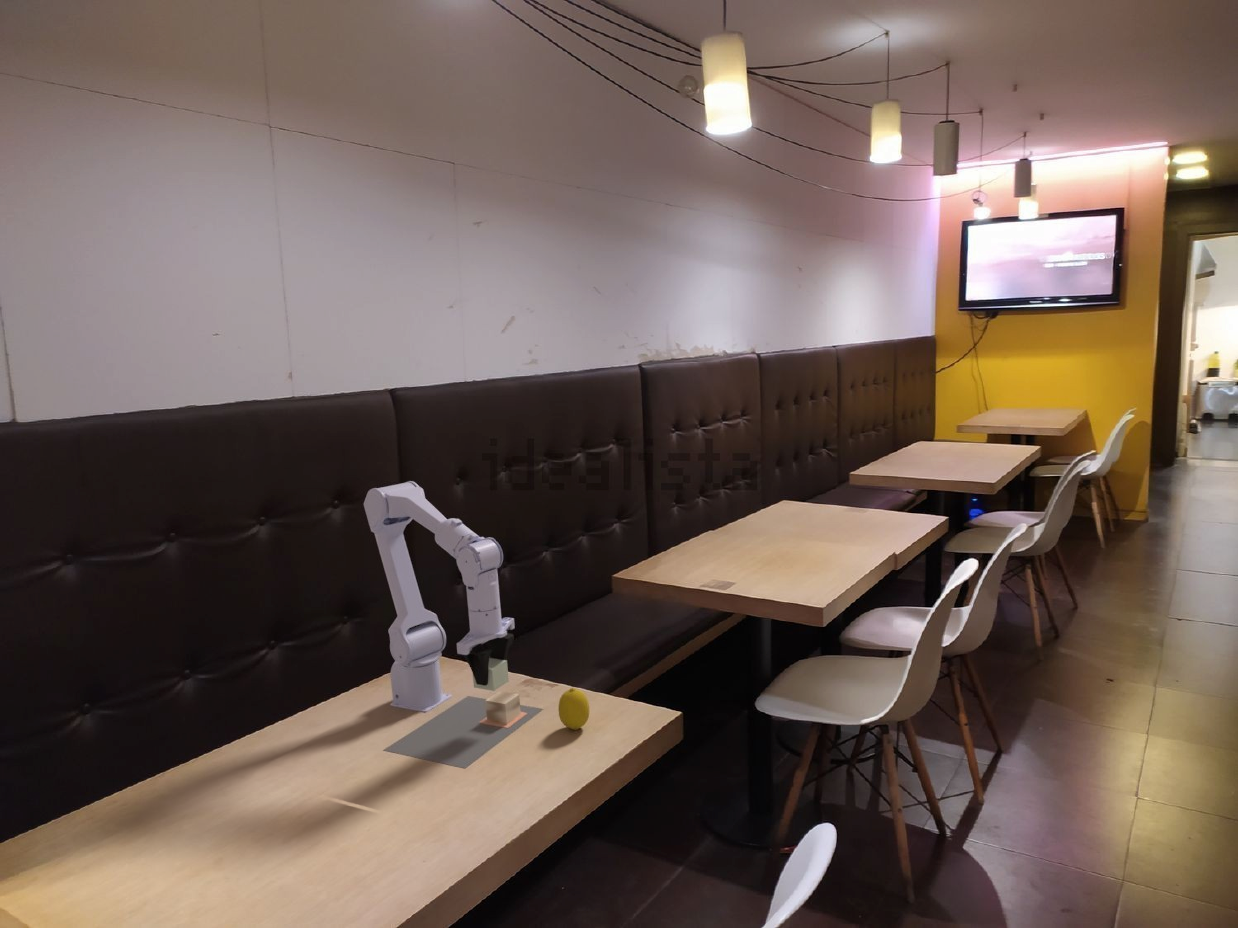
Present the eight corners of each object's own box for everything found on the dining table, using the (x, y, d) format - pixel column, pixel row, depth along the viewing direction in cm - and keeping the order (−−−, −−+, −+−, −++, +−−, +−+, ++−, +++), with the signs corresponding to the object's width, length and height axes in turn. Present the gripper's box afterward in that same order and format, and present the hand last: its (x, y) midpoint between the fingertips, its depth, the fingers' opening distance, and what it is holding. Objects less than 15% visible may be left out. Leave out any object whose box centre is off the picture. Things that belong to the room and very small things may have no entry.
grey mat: (383, 752, 146) (383, 749, 146) (468, 697, 167) (467, 695, 167) (465, 770, 138) (465, 767, 138) (543, 710, 159) (543, 708, 159)
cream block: (487, 720, 155) (485, 700, 155) (501, 710, 159) (499, 690, 158) (507, 724, 153) (505, 703, 152) (520, 714, 157) (519, 694, 156)
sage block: (473, 687, 151) (472, 666, 151) (489, 677, 155) (487, 657, 155) (494, 690, 149) (492, 669, 149) (508, 681, 153) (507, 660, 152)
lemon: (555, 728, 151) (552, 686, 150) (583, 720, 154) (580, 679, 153) (566, 740, 146) (563, 697, 145) (595, 732, 149) (592, 689, 148)
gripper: (477, 621, 142) (483, 697, 144) (525, 596, 155) (531, 666, 156) (444, 617, 145) (451, 691, 147) (494, 593, 158) (500, 662, 160)
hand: (490, 678), depth 152 cm, fingers closed on sage block, 4 cm apart
